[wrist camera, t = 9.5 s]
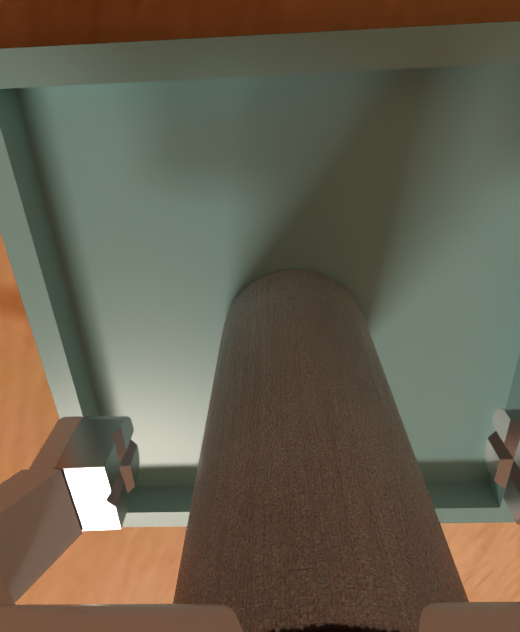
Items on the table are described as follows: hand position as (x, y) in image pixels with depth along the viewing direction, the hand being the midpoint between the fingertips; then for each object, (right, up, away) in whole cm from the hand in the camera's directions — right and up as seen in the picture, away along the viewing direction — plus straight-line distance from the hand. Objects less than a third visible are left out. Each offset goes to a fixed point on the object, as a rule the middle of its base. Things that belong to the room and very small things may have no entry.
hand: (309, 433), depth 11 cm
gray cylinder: (0, +2, +5) cm, 5 cm away
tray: (0, +3, +5) cm, 6 cm away
